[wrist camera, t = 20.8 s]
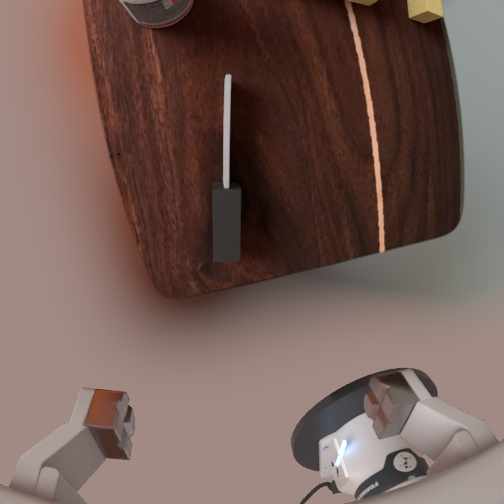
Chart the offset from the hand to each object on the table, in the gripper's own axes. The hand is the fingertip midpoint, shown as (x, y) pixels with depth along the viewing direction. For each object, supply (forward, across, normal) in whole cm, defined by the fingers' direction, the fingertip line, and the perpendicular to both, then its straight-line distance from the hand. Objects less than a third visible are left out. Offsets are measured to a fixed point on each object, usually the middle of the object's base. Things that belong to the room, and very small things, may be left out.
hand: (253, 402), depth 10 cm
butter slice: (+21, -19, -23) cm, 37 cm away
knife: (+21, 0, -5) cm, 22 cm away
